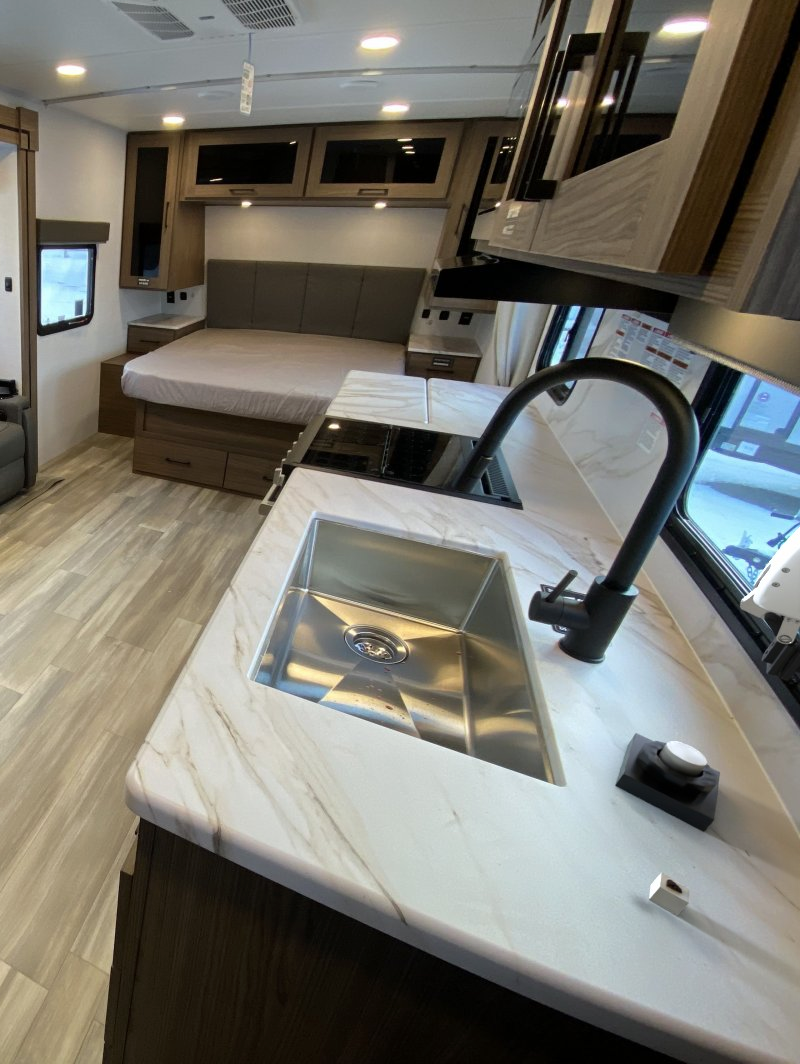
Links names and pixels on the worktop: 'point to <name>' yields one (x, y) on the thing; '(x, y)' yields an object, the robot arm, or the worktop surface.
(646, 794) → the block
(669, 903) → the cube with dark pebbles
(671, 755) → the knob
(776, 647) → the robot arm
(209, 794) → the worktop surface
